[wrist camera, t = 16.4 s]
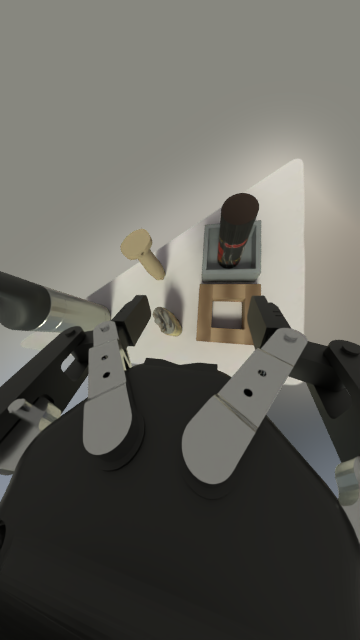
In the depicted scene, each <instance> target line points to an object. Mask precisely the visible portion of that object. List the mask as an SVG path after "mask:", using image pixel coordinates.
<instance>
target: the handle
mask: <svg viewBox="0 0 360 640" xmlns="http://www.w3.org/2000/svg"><path fill="white" fill-rule="evenodd" d="M151 245H152V239H151V237H150V235H149V233H148V232H147V231H146V230H144V229H139V230H136V231H134V232H132V233H131V234H129V235H128V236H127V237H126V238H125V239H124V241H123V242H122V244H121V252H122V253H123V255H125V257H127V258H128V259H130V260H135V259H138V260H139V261H140V262H141V264H142V265H143V266H144V268H145V269H146V270H147V272H148V273H149V274H150V275H151V276H153V277H154V278H155V279H156V280H163V279H164V276H165V272H164V270H163V267H162V265H161V263H160V262H159V260H158V259H157V258H156V257H155V255H154V254H153V253H152V252H151V250H150V247H151Z"/></svg>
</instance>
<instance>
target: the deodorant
mask: <svg viewBox="0 0 360 640" xmlns="http://www.w3.org/2000/svg"><path fill="white" fill-rule="evenodd" d="M258 211H259V203H258V201H257V199H256V198H255V197H254V196H252V195H250V194H247V193H239V194H235V195H233V196H231V197H229V198H228V199H227V200H226V201H225V202H224V204H223V206H222V209H221V221H220V233H219V244H218V256H217V261H218V263H219V265H220V266H221V267H223V268H226V269H230V268H233V267H235V266H237V265H238V264H239V262H240V260H241V257H242V254H243V251H244V249H245V246H246V243H247V241H248V238H249V235H250V232H251V230H252V227H253V224H254V222H255V219H256V216H257V213H258Z"/></svg>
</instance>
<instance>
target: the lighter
mask: <svg viewBox="0 0 360 640" xmlns="http://www.w3.org/2000/svg"><path fill="white" fill-rule="evenodd" d="M153 317H154V318H155V320H154V321H155V323H156V324H157V325H159V327H160V329H161V332H163V333H164V334H166V335H172V336H179V335H180V334H181V332H182V327H181V326H180V324H179V320H178V319H176V318H175V316H174V314H172V313H171V312H169V311H168V310H166V309H165V308H162V307H157V308H156V309H155V310H154V312H153Z"/></svg>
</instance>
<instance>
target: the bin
mask: <svg viewBox="0 0 360 640" xmlns="http://www.w3.org/2000/svg"><path fill="white" fill-rule="evenodd" d="M219 233H220V224H212V225H205V232H204V248H203V264H202V278H203V282H255V280H256V279H257V277H258V276H259V275H260V273H261V220H259V221H255V222H254V224H253V227H252V230H251V232H250V235H249V238H248V241H247V243H246V246H245V249H244V251H243V254H242V257H241V260H240V262H239V264H238V265H237V266H235V267H233V268H230V269H226V268H223V267H221V266H220V265H219V263H218V261H217V256H218V244H219Z"/></svg>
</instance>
